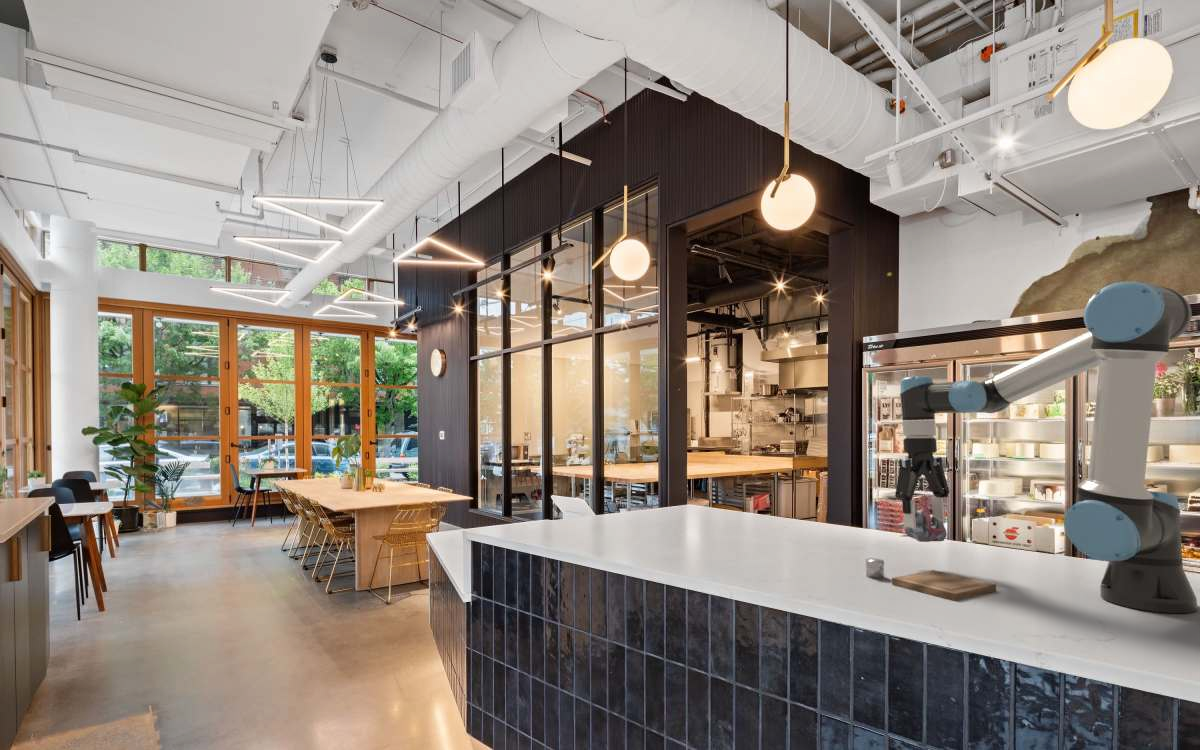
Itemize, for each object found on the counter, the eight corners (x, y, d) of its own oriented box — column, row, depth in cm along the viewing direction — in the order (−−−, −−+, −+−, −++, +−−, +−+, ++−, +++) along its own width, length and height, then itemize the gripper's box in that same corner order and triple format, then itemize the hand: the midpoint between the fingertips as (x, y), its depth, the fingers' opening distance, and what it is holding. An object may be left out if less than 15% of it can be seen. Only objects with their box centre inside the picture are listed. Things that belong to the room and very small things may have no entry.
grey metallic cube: (887, 577, 152) (887, 560, 153) (876, 579, 150) (876, 562, 151) (873, 574, 156) (873, 557, 156) (862, 576, 154) (862, 559, 154)
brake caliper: (962, 533, 153) (926, 493, 155) (924, 560, 154) (890, 520, 157) (947, 526, 164) (914, 489, 166) (913, 551, 165) (880, 514, 168)
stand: (996, 590, 140) (995, 584, 140) (954, 600, 133) (954, 593, 133) (932, 575, 153) (932, 569, 153) (892, 584, 146) (891, 577, 146)
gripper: (934, 436, 170) (939, 519, 168) (876, 438, 159) (881, 527, 157) (961, 436, 163) (967, 522, 161) (902, 438, 152) (908, 531, 150)
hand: (924, 525), depth 159 cm, fingers closed on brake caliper, 11 cm apart
